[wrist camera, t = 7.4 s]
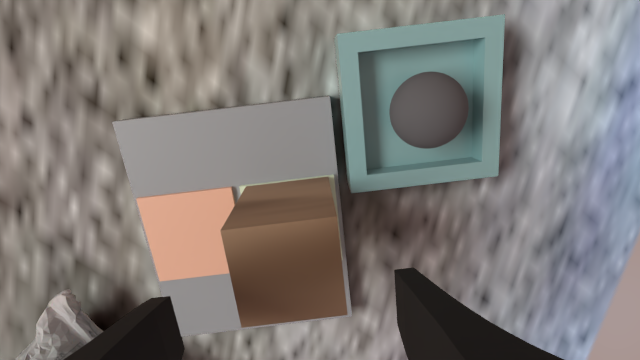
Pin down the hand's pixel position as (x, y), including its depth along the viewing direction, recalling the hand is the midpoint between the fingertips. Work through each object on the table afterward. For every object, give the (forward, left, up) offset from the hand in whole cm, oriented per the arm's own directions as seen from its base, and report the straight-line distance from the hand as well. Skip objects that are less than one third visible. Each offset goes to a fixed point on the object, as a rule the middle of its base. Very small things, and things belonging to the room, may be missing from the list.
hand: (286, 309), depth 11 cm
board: (0, +3, -8) cm, 8 cm away
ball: (+5, -6, -7) cm, 11 cm away
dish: (+5, -6, -8) cm, 11 cm away
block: (0, 0, -7) cm, 7 cm away
